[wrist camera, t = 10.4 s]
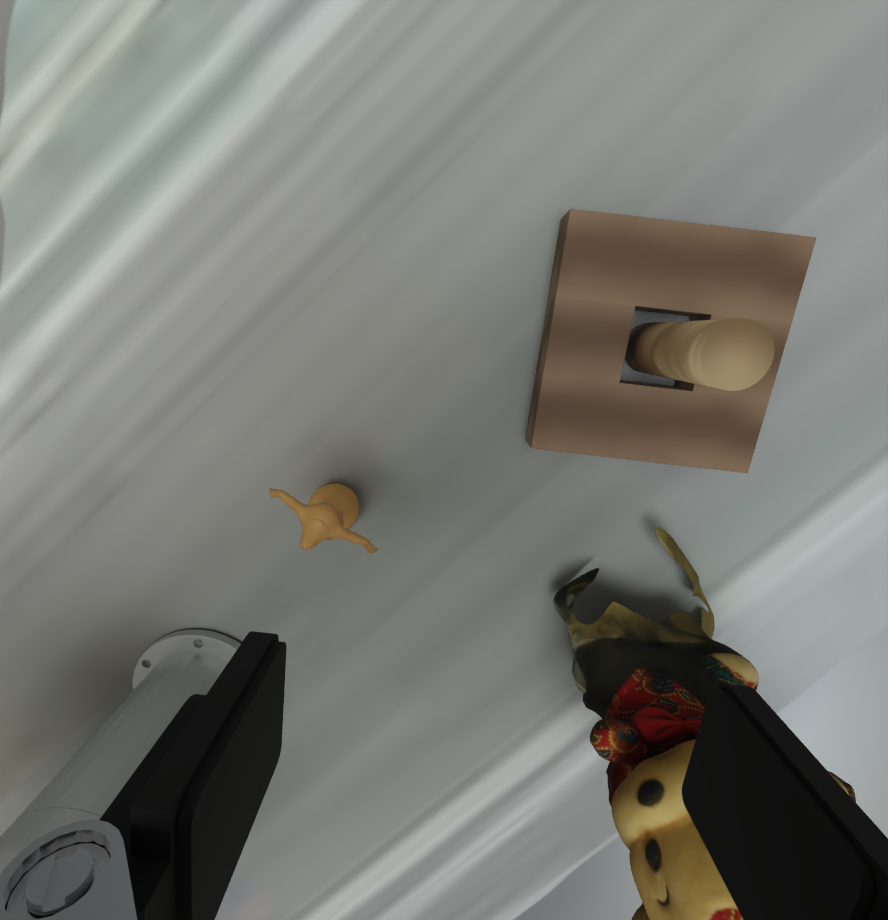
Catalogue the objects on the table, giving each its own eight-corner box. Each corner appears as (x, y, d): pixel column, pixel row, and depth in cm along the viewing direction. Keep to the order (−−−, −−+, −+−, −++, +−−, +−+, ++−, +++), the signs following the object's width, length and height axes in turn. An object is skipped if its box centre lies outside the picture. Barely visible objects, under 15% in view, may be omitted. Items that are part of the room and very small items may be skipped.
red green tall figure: (768, 557, 38) (1152, 1041, 16) (657, 681, 46) (814, 1115, 24) (596, 501, 37) (767, 953, 15) (512, 640, 45) (543, 1064, 23)
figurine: (285, 493, 40) (213, 560, 28) (318, 433, 38) (258, 477, 27) (371, 543, 40) (336, 627, 29) (407, 486, 39) (386, 551, 27)
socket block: (725, 462, 38) (747, 473, 35) (525, 439, 38) (531, 448, 35) (785, 245, 34) (816, 237, 31) (560, 219, 34) (570, 208, 31)
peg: (665, 374, 36) (763, 394, 25) (618, 369, 36) (693, 386, 25) (676, 325, 35) (783, 322, 24) (628, 320, 35) (711, 314, 24)
